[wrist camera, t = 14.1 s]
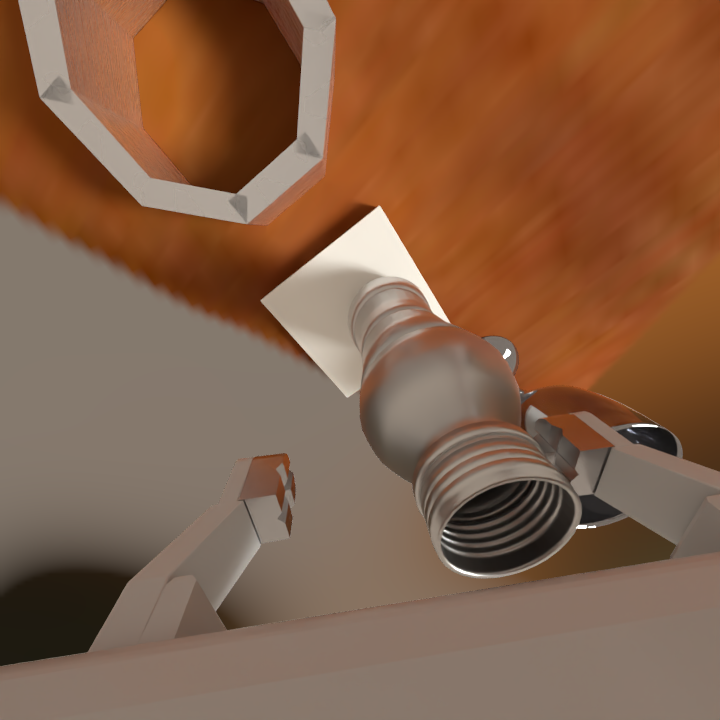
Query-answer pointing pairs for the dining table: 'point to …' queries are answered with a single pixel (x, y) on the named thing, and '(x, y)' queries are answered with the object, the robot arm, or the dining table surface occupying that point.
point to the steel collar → (123, 112)
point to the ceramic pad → (342, 295)
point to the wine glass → (605, 409)
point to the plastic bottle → (456, 435)
